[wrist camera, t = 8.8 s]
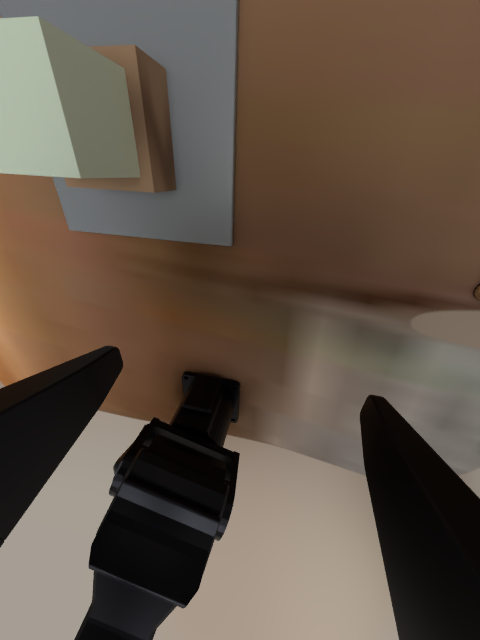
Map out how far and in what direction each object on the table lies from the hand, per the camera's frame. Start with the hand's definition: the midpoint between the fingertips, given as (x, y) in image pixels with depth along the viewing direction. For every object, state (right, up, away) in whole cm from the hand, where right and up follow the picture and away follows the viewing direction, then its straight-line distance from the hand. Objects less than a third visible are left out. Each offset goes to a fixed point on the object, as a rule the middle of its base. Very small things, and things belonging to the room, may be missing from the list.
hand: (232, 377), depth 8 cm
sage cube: (-8, +13, +5) cm, 15 cm away
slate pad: (-7, +14, +7) cm, 18 cm away
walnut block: (-7, +14, +7) cm, 17 cm away
